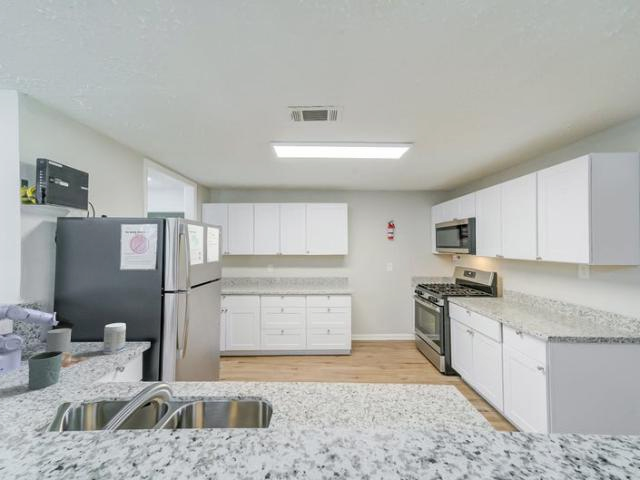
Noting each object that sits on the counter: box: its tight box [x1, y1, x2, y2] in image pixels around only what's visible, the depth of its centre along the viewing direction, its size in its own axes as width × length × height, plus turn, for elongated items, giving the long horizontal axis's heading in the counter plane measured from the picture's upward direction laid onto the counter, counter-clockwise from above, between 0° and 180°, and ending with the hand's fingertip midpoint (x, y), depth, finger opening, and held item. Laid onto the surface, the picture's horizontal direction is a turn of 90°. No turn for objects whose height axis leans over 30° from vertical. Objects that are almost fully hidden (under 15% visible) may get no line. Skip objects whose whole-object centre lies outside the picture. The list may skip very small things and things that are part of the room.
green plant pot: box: [27, 351, 63, 391], centre depth 111 cm, size 10×10×12 cm
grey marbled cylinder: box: [44, 328, 73, 353], centre depth 144 cm, size 10×10×12 cm
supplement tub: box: [102, 322, 127, 355], centre depth 150 cm, size 10×10×15 cm
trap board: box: [61, 355, 90, 368], centre depth 134 cm, size 12×11×1 cm
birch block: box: [61, 352, 72, 366], centre depth 131 cm, size 4×4×4 cm
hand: (70, 324), depth 142 cm, fingers open, 7 cm apart
